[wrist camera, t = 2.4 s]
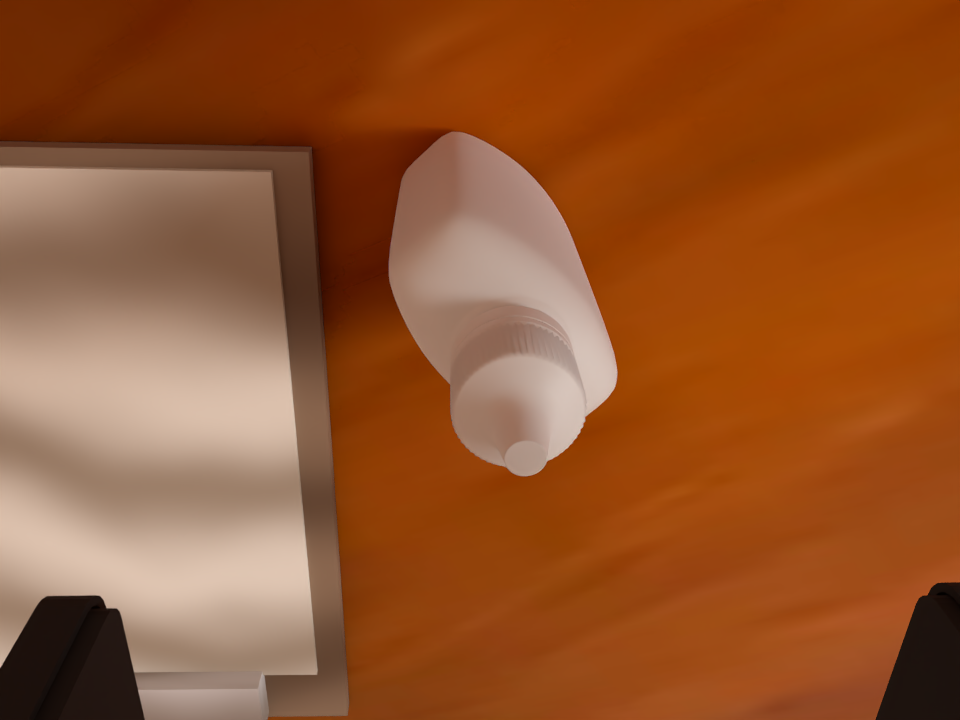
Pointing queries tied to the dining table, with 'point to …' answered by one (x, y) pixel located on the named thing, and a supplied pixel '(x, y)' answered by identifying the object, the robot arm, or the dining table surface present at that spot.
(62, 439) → the clipboard
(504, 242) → the eye dropper bottle
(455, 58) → the dining table surface
